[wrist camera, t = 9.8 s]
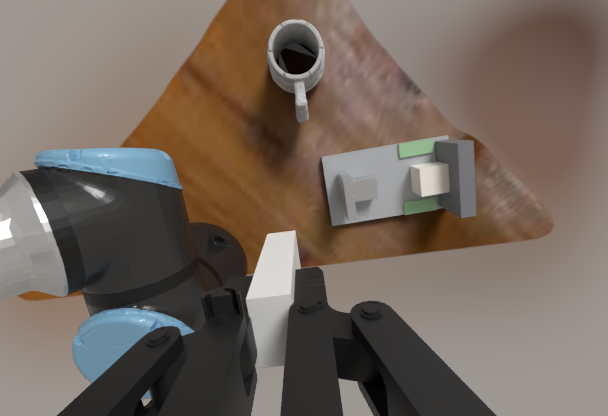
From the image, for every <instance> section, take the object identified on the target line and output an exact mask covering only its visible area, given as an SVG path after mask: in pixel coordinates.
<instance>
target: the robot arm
mask: <svg viewBox="0 0 608 416" xmlns="http://www.w3.org/2000/svg"><path fill="white" fill-rule="evenodd" d="M34 164H35V166H37V168H38V169H34V170H28V171H20V172H14V173H12V174H11V175H10V176H9V177H8V178H7V180H6V181H5V182H4V183H3V184H2V186H1V187H0V302H1V301H3V300H6V299H9V298H11V297H14V296H17V295H20V294H23V293H25V292H28V291H40V292H44V293H48V294H51V295H55V296H59V297H63V296H66V295H69V294H71V293H74V292H76V291H79V290H82V293H83V296H84V299H85V302H86V305H87V308H88V310H89V313H90V317H89V318H88V319H87V320H86V321H84V322H83V323H82V324H81V326H80V327H79V331H78V334H77V336H76V337H75V338H74V341H73V345H72V354H73V359H74V362H75V364H76V366H77V368H78V369H79V371H80V373H81V374H82V375H83V376H84V377H85V378H86V379H87V380H88V381H89V382H90V383H92V384H91V385H90V386H89V387H88V388H86V389H85V390H84V391H83V392H82V393H81V394H80V395H79V396H78V397H77V398H76V399H74V400H73V401H72V402H71V403H70V404H69V405H68V406H67V407H66V408H65V409H64V410H63V411H61V412H60V413H59V414H58V415H57V416H251V412H252V406H253V400H254V394H255V389H256V383H257V374H256V368H255V363H256V358H257V359H258V364H259V368H266V367H275V366H284V365H285V367H284V378H283V391H282V404H281V416H343V411H342V403H341V397H340V389H339V382H338V378H340V379H346V380H352V381H357V382H358V385H359V389H360V391H361V392H362V394H363V396H364V398H365V400H366V402H367V403H368V406H369V407H370V409H371V411H372V413H373V415H374V416H496V415H495V414H494V413H493V412H492V411H491V410H490V409H489V408H488V407H487V405H486V404H485V403H484V402H483V401H482V400H481V399H480V398H479V397H478V396H477V395H476V394H475V393H474V392H473V391H472V390H471V389H470V388H469V387H468V386H467V385H466V384H465V383H464V382H463V381H462V380H461V379H460V378H459V377H458V376H457V375H456V374H455V373H454V372H453V371H452V370H451V369H450V368H449V367H448V366H447V364H445V362H444V361H443V360H442V359H441V358H440V357H439V356H438V355H437V354H435V352H434V351H433V350H432V349H431V348H430V347H429V346H428V345H427V344H426V343H425V342H424V341H423V340H422V339H421V338H420V337H419V336H418V335H417V334H416V333H415V332H414V331H413V330H412V329H411V328H410V327H409V326H408V325H407V324H406V323H405V322H404V320H403V319H402V318H401V317H400V316H399V315H398V314H397V313H396V312H395V311H394V310H393V309H392V308H391V307H390V306H388V305H386V304H385V303H381V302H378V301H366V302H361V303H359V304H356V305H355V306H354V307H353V308H352V309H351V312H350V313H343V312H339V311H336V310H334V309H332V308H331V307H330V306H329V305H328V302H327V297H326V289H325V282H324V276H323V271H322V270H321V269H320V268H318V267H312V268H304V269H301V267H300V260H299V253H298V246H297V239H296V232H295V231H288V232H280V233H272V234H267V237H266V240H265V243H264V246H263V249H262V252H261V255H260V258H259V261H258V264H257V267H256V270H255V273H254V276H246V275H247V260H246V256H245V253H244V251H243V249H242V247H241V245H240V244H239V242H238V241H237V240H236V239H235V238H234V237H233V236H232V235H231V234H230V233H229V232H227V231H226V230H224V229H222V228H220V227H218V226H215V225H212V224H208V223H189V219H188V215H187V211H186V206H185V202H184V198H183V193H182V191H183V187H182V186H181V185H180V183H179V180H178V176H177V173H176V170H175V166H174V163H173V160H172V159H171V157H170V156H169V155H168V154H166V153H165V152H163V151H161V150H157V149H147V148H89V149H81V150H79V149H74V150H73V149H72V150H49V151H42V152H39V153H38V154H37V155H36V160H35V162H34ZM150 398H151V401H150V402H149V403H148V404H147V405H146V406H145V407H144V406H143V403H142V400H141V399H150Z"/></svg>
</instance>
